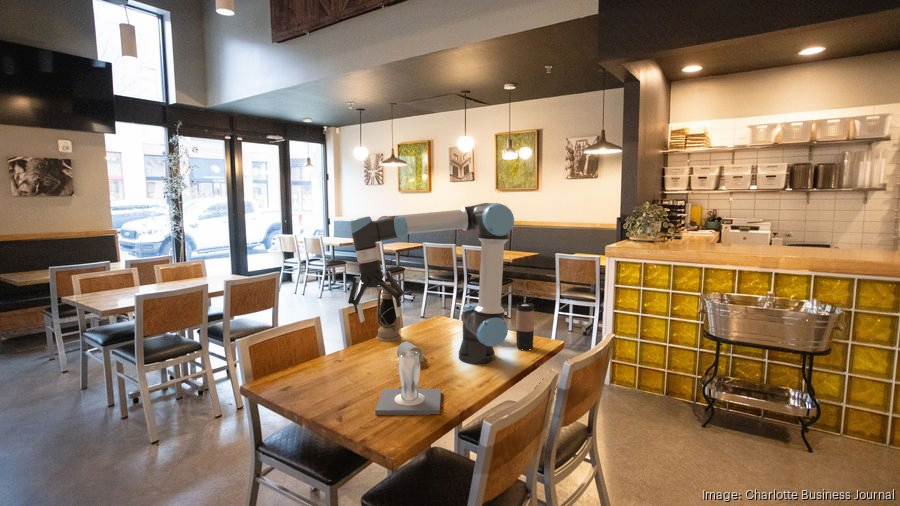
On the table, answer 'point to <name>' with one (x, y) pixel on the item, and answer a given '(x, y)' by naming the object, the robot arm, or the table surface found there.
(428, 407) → the charcoal board
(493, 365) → the table surface
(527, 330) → the travel mug
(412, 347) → the ceramic mug
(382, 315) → the lantern
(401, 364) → the beer glass
